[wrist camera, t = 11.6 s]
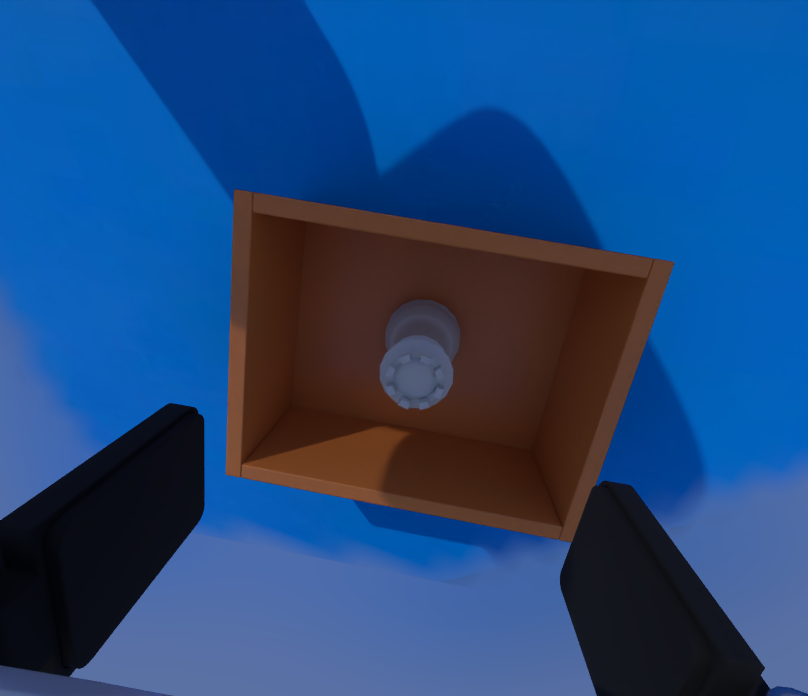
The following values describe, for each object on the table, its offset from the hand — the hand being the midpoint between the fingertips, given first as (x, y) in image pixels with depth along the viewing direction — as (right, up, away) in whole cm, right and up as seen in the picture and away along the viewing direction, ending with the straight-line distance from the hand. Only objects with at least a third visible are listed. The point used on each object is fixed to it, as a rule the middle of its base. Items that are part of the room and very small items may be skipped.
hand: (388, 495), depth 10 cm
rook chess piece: (+2, +4, +15) cm, 16 cm away
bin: (+2, +4, +15) cm, 16 cm away
